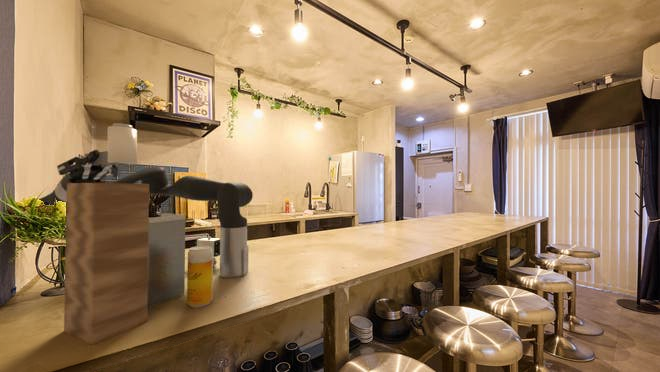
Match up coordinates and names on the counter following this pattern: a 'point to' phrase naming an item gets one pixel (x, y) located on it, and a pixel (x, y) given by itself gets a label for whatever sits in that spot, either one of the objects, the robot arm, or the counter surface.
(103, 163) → the white plastic container
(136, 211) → the tall wooden block
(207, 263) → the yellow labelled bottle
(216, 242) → the pneumatic valve
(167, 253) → the tall grey upright block
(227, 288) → the counter surface
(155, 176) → the robot arm
